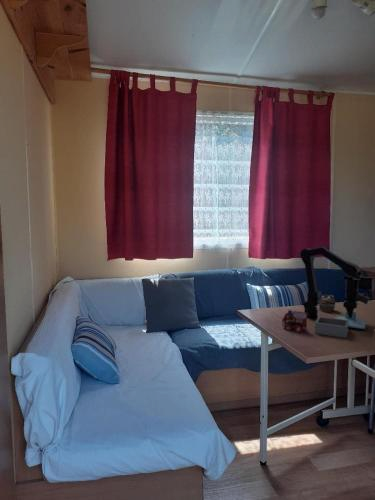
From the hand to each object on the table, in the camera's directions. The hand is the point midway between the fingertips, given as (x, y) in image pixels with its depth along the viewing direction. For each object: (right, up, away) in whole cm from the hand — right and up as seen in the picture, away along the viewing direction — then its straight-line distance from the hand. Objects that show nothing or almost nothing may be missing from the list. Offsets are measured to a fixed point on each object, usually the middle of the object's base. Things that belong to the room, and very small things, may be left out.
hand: (350, 317), depth 188 cm
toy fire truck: (-33, -5, -9) cm, 34 cm away
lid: (-2, -3, -4) cm, 6 cm away
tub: (-16, -5, -14) cm, 22 cm away
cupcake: (-1, -2, +29) cm, 29 cm away
